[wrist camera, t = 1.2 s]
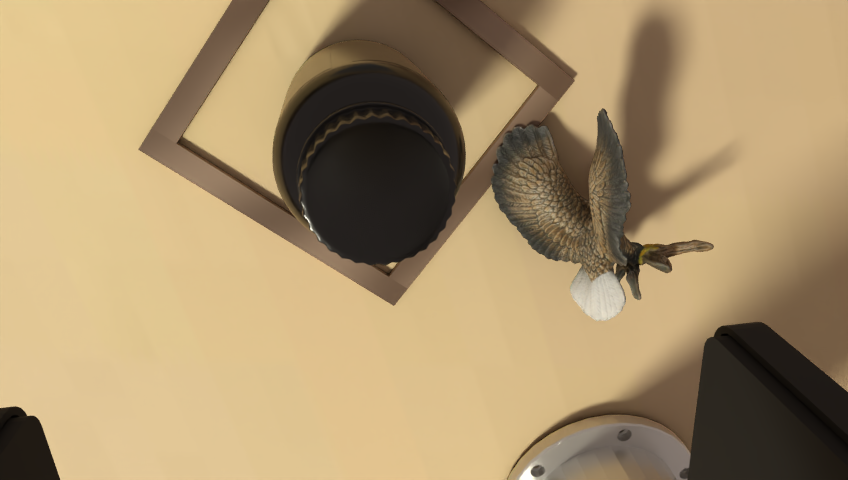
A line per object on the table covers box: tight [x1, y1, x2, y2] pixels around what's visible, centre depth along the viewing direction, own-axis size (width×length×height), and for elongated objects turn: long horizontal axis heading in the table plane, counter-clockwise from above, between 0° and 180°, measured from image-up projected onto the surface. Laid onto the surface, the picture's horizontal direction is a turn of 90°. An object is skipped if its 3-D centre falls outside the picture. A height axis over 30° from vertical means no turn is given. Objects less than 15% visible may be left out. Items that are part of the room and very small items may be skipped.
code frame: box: [138, 0, 575, 306], centre depth 30 cm, size 14×14×1 cm
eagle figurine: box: [491, 109, 714, 321], centre depth 31 cm, size 8×7×9 cm
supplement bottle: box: [273, 40, 466, 266], centre depth 25 cm, size 7×7×12 cm
